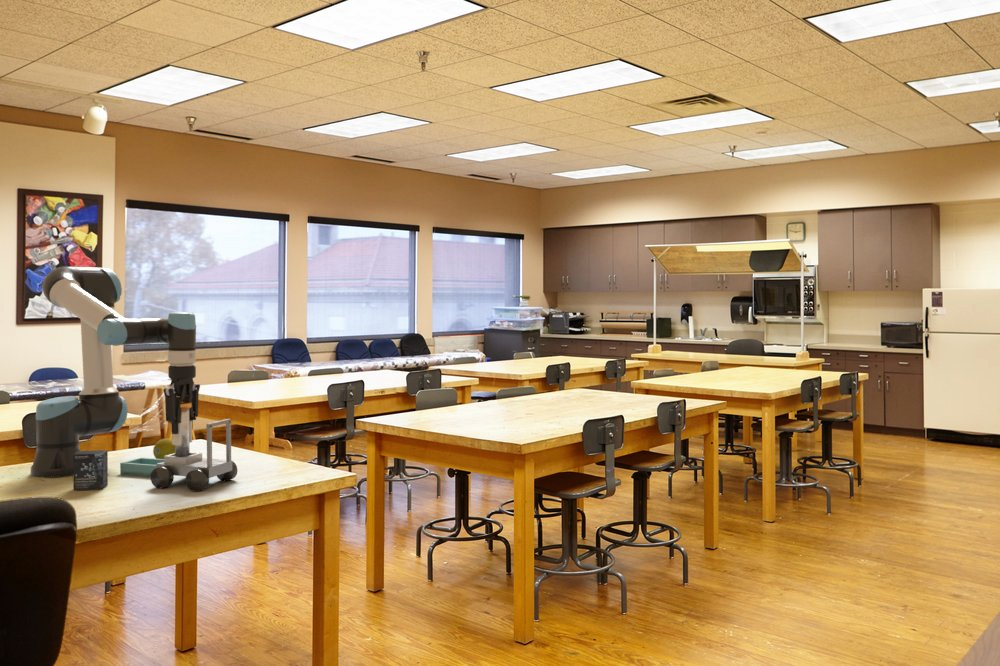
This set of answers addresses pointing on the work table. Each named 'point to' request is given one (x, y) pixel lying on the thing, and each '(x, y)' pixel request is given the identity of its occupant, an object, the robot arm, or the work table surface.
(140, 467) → the tray
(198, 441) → the work table surface
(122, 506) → the work table surface
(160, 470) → the trolley
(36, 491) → the work table surface
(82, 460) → the box
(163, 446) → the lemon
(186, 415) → the clear tube with cap
